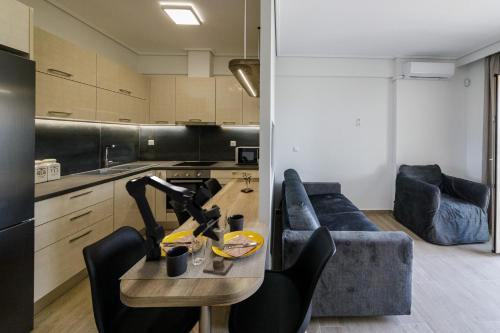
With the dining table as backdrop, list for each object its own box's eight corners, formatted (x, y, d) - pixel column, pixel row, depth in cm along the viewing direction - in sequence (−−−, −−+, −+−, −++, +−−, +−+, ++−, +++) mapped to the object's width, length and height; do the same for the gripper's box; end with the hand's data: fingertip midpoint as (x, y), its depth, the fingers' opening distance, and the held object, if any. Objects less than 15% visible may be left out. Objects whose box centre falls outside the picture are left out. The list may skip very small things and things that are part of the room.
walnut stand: (203, 271, 116) (202, 262, 116) (212, 260, 126) (212, 252, 125) (224, 274, 114) (224, 265, 113) (232, 263, 123) (232, 255, 123)
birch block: (211, 246, 117) (211, 231, 116) (215, 242, 121) (215, 227, 120) (220, 247, 116) (220, 232, 115) (223, 243, 120) (223, 228, 119)
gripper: (198, 206, 108) (224, 236, 106) (217, 195, 126) (239, 220, 124) (181, 223, 111) (207, 252, 110) (202, 210, 129) (224, 235, 127)
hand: (220, 238), depth 118 cm, fingers closed on birch block, 4 cm apart
